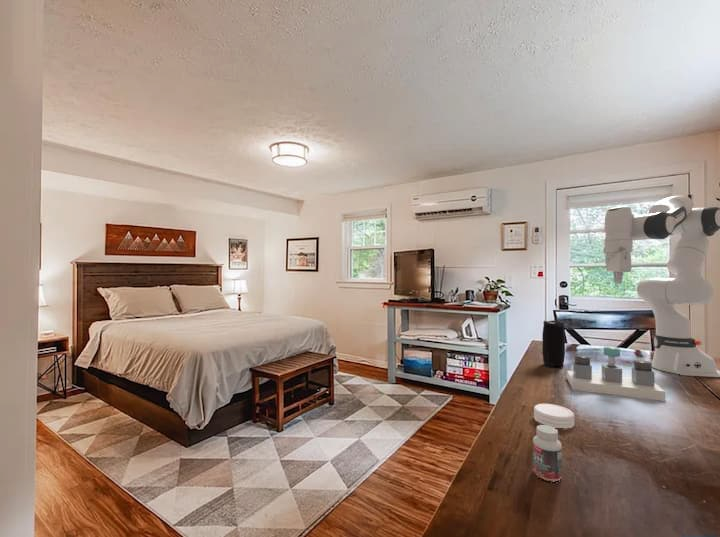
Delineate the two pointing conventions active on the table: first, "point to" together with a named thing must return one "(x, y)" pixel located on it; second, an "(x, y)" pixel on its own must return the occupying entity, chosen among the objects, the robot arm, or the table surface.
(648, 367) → the near knob
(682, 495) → the table surface
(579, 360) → the far knob
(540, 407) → the white jar lid
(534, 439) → the pill bottle
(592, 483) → the table surface
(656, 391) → the mount panel
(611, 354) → the teal dial
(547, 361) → the portable speaker
